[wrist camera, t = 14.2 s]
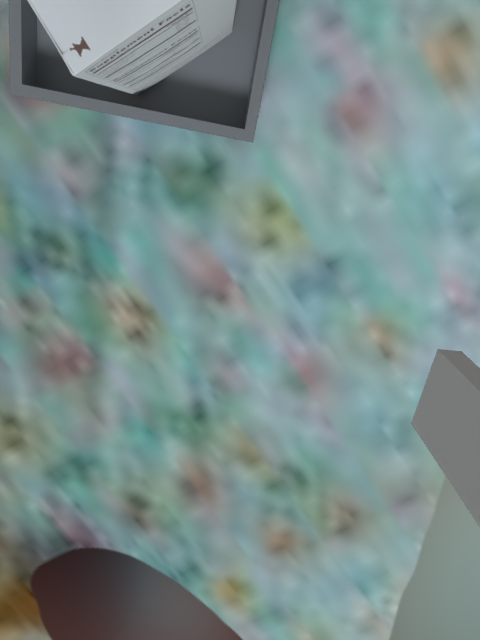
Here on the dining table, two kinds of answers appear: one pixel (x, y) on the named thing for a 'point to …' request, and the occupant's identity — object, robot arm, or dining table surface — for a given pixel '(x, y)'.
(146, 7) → the supplement box
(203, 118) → the grey shallow rectangular tray
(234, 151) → the dining table surface
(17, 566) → the dining table surface
